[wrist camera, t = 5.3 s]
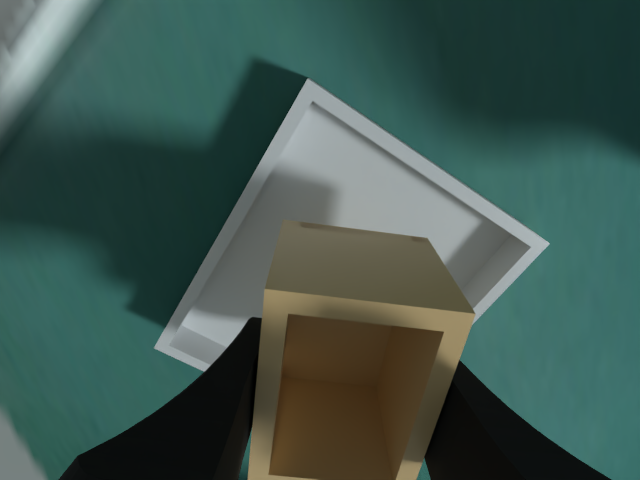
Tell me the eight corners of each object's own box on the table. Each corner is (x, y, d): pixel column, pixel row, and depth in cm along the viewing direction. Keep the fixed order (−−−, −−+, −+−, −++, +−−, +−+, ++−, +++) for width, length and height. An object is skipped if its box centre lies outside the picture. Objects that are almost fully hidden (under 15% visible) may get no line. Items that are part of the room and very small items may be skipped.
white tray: (309, 77, 14) (307, 78, 12) (524, 224, 17) (549, 243, 15) (170, 321, 19) (153, 348, 17) (355, 410, 21) (358, 443, 19)
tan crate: (282, 219, 13) (264, 289, 9) (427, 237, 13) (475, 313, 9) (266, 377, 16) (247, 486, 12) (386, 389, 16) (408, 500, 12)
